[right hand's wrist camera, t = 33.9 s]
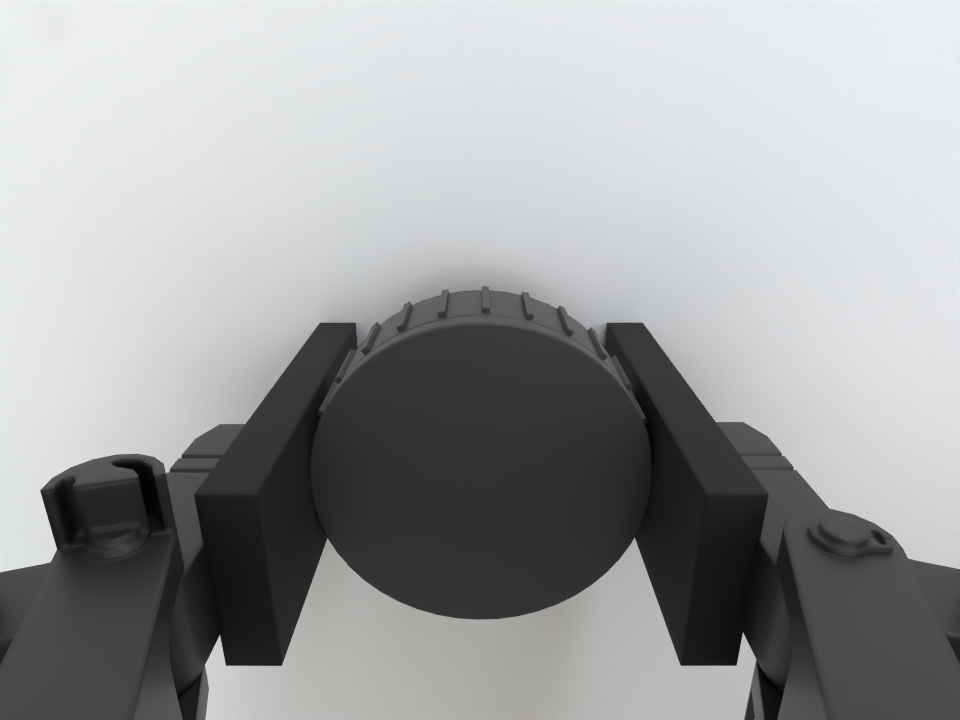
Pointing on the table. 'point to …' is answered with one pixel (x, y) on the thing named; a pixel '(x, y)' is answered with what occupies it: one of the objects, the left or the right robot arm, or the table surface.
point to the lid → (481, 457)
